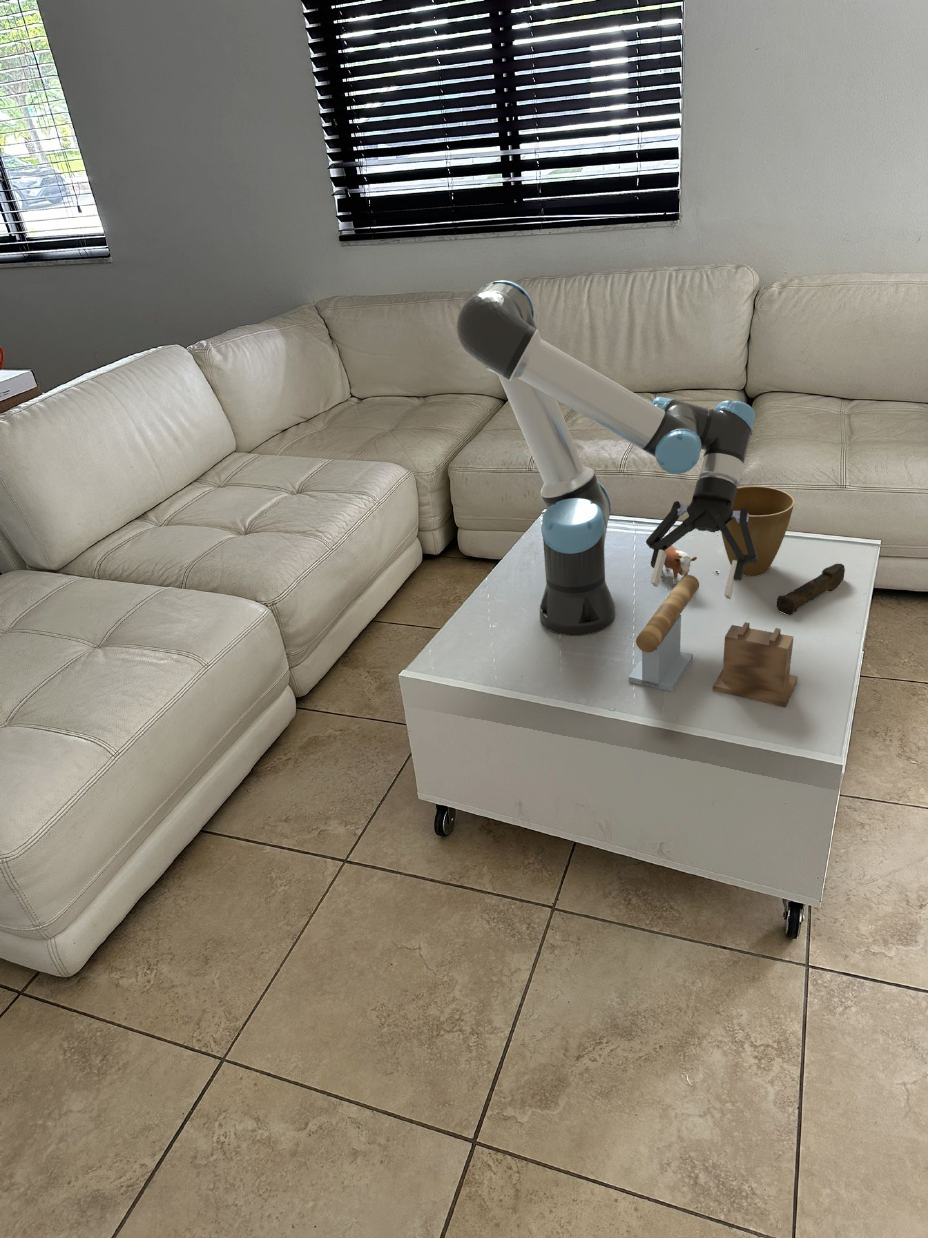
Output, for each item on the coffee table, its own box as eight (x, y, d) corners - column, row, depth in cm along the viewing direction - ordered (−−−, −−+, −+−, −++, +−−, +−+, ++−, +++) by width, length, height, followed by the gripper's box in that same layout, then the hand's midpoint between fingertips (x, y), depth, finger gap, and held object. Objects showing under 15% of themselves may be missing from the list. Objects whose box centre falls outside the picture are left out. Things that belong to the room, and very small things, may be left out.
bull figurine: (681, 596, 167) (682, 561, 163) (650, 570, 178) (650, 536, 174) (700, 591, 167) (702, 556, 163) (668, 565, 179) (669, 531, 175)
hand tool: (791, 618, 155) (793, 598, 153) (774, 611, 158) (776, 590, 156) (854, 585, 163) (858, 565, 161) (837, 578, 166) (840, 558, 164)
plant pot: (699, 565, 177) (702, 497, 169) (754, 547, 181) (759, 480, 173) (745, 593, 165) (750, 521, 157) (803, 572, 169) (811, 501, 161)
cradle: (628, 681, 144) (628, 639, 139) (651, 649, 151) (651, 609, 147) (672, 691, 140) (673, 649, 135) (693, 658, 147) (694, 617, 143)
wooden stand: (712, 690, 139) (715, 636, 133) (726, 665, 144) (729, 613, 139) (785, 707, 133) (791, 651, 127) (797, 681, 138) (803, 626, 133)
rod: (656, 654, 135) (656, 636, 133) (635, 650, 137) (635, 632, 135) (699, 593, 150) (699, 576, 149) (680, 590, 152) (680, 573, 150)
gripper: (789, 497, 148) (762, 607, 145) (657, 484, 160) (630, 585, 158) (785, 481, 142) (757, 596, 139) (648, 468, 154) (620, 574, 151)
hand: (690, 590), depth 148 cm, fingers open, 13 cm apart
